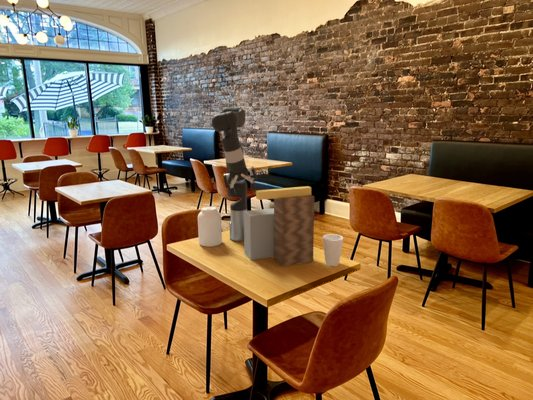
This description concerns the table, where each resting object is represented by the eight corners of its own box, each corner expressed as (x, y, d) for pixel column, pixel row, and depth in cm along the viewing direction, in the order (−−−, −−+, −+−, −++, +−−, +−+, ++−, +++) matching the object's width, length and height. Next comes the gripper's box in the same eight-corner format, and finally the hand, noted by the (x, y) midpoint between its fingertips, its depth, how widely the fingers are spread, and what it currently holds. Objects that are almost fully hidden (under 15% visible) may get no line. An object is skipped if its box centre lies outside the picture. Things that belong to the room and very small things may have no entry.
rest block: (250, 260, 192) (249, 216, 187) (244, 253, 202) (243, 211, 197) (281, 255, 198) (281, 212, 193) (273, 249, 207) (273, 208, 202)
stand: (282, 266, 184) (282, 199, 177) (274, 259, 193) (273, 194, 186) (313, 261, 190) (314, 196, 182) (303, 254, 199) (304, 192, 192)
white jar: (212, 248, 209) (211, 211, 204) (194, 244, 215) (192, 208, 210) (226, 241, 219) (225, 206, 215) (208, 238, 225) (207, 203, 221)
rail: (258, 199, 177) (258, 192, 176) (256, 198, 180) (256, 190, 179) (311, 194, 185) (311, 187, 185) (307, 193, 189) (308, 186, 188)
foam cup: (318, 261, 190) (319, 235, 187) (334, 258, 194) (335, 233, 191) (329, 268, 181) (329, 241, 178) (346, 265, 185) (347, 238, 182)
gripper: (250, 151, 173) (259, 185, 180) (218, 159, 173) (228, 192, 180) (251, 157, 166) (260, 191, 173) (218, 165, 166) (228, 199, 173)
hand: (244, 192), depth 176 cm, fingers open, 8 cm apart
